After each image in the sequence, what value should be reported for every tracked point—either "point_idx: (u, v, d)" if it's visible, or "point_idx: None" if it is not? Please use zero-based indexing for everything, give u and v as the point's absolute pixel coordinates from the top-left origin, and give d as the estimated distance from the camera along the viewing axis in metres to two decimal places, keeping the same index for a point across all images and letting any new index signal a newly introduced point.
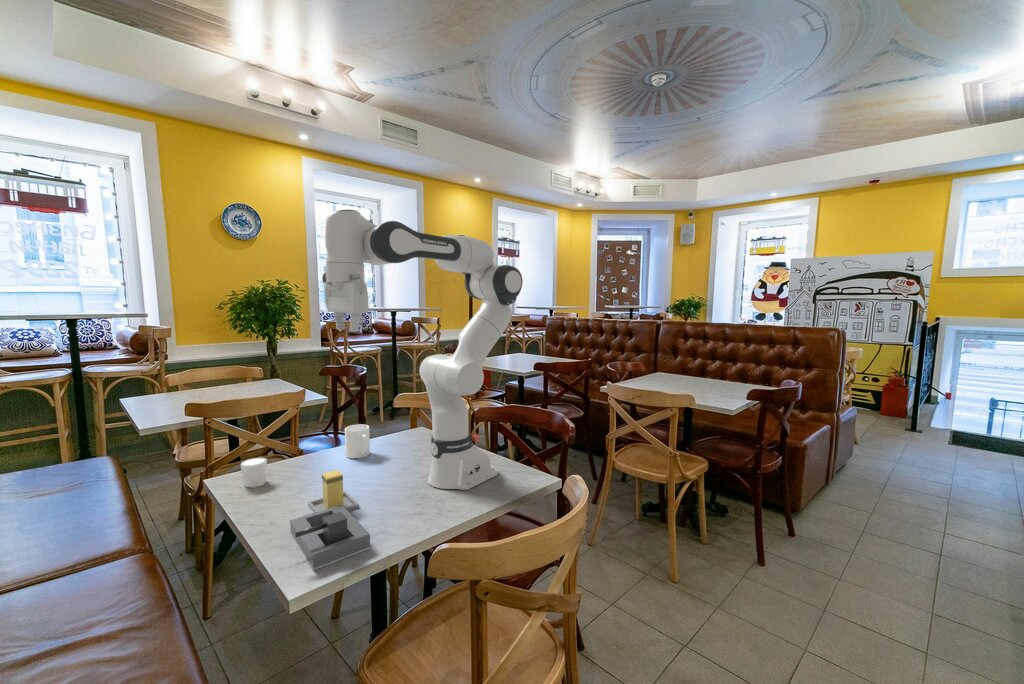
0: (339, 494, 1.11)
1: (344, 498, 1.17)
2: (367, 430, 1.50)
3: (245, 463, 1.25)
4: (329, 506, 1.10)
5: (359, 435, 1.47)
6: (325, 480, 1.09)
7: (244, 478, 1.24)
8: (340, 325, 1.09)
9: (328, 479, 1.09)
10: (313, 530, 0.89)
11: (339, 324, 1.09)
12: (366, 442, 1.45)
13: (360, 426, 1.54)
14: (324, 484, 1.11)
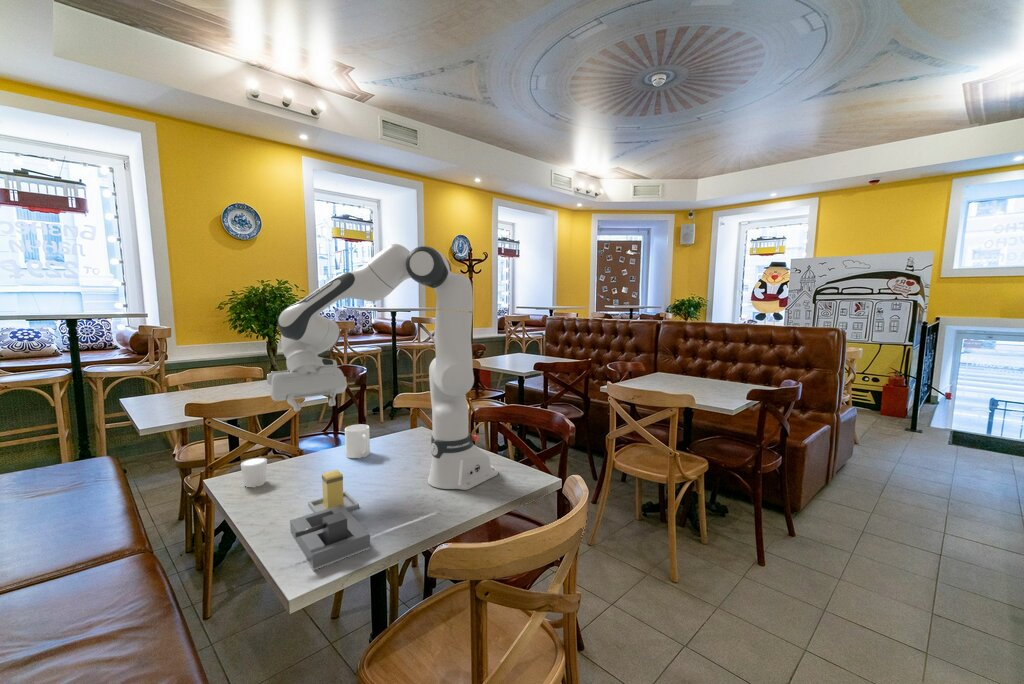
0: (339, 494, 1.11)
1: (344, 498, 1.17)
2: (367, 430, 1.50)
3: (245, 463, 1.25)
4: (329, 506, 1.10)
5: (359, 435, 1.47)
6: (325, 480, 1.09)
7: (244, 478, 1.24)
8: (329, 402, 1.22)
9: (328, 479, 1.09)
10: (313, 530, 0.89)
11: (328, 402, 1.23)
12: (366, 442, 1.45)
13: (360, 426, 1.54)
14: (324, 484, 1.11)
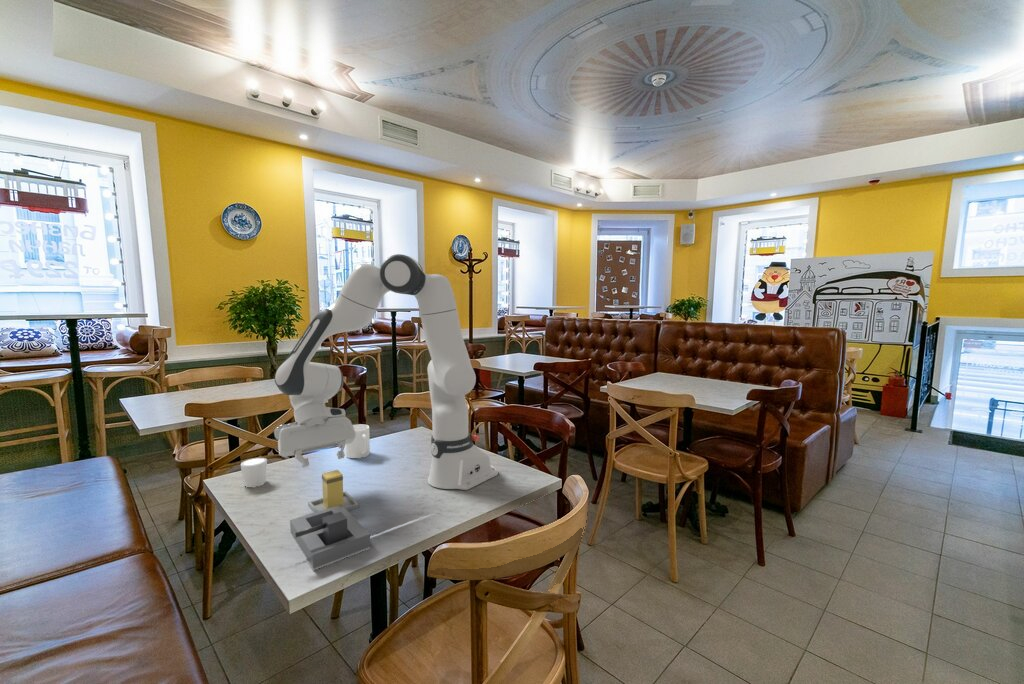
0: (339, 494, 1.11)
1: (344, 498, 1.17)
2: (367, 430, 1.50)
3: (245, 463, 1.25)
4: (329, 506, 1.10)
5: (359, 435, 1.47)
6: (325, 480, 1.09)
7: (244, 478, 1.24)
8: (337, 455, 1.20)
9: (328, 479, 1.09)
10: (313, 530, 0.89)
11: (337, 454, 1.20)
12: (366, 442, 1.45)
13: (360, 426, 1.54)
14: (324, 484, 1.11)
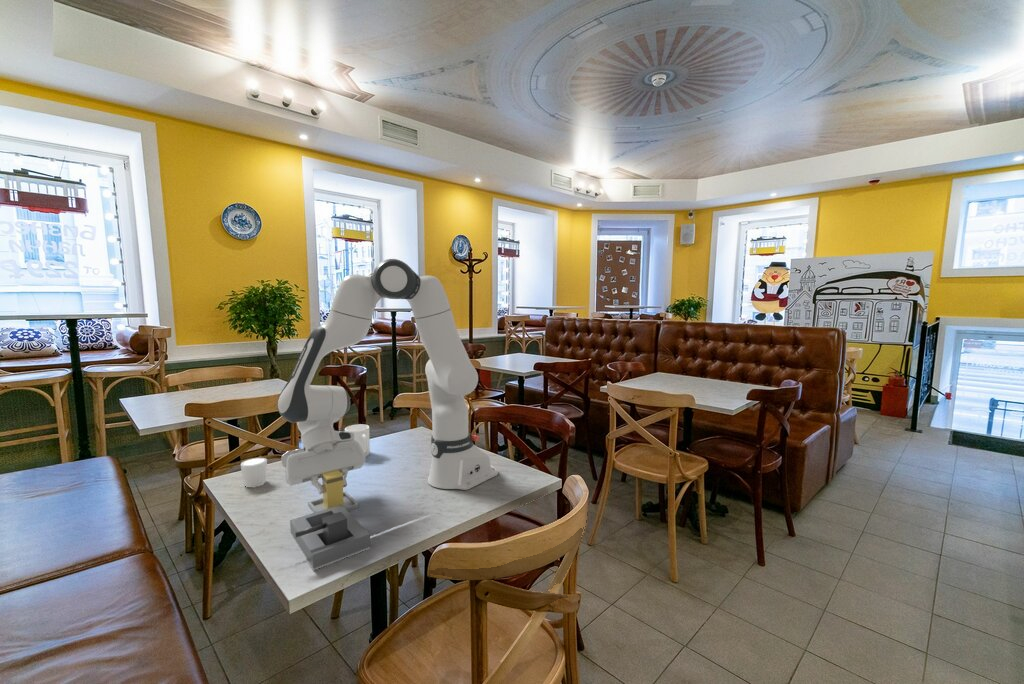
0: (339, 494, 1.11)
1: (344, 498, 1.17)
2: (367, 430, 1.50)
3: (245, 463, 1.25)
4: (329, 506, 1.10)
5: (359, 435, 1.47)
6: (325, 480, 1.09)
7: (244, 478, 1.24)
8: None
9: (328, 479, 1.09)
10: (313, 530, 0.89)
11: None
12: (366, 442, 1.45)
13: (360, 426, 1.54)
14: None
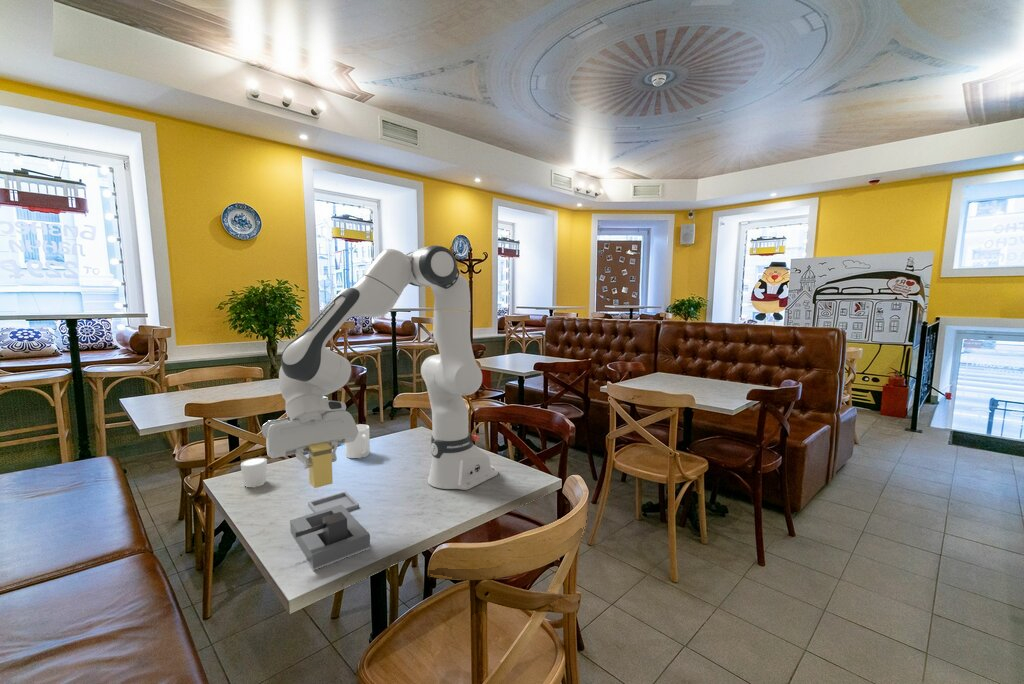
0: (327, 468, 0.98)
1: (344, 498, 1.17)
2: (367, 430, 1.50)
3: (245, 463, 1.25)
4: (316, 482, 0.96)
5: (359, 435, 1.47)
6: (311, 452, 0.96)
7: (244, 478, 1.24)
8: None
9: (315, 451, 0.96)
10: (313, 530, 0.89)
11: None
12: (366, 442, 1.45)
13: (360, 426, 1.54)
14: (310, 457, 0.97)
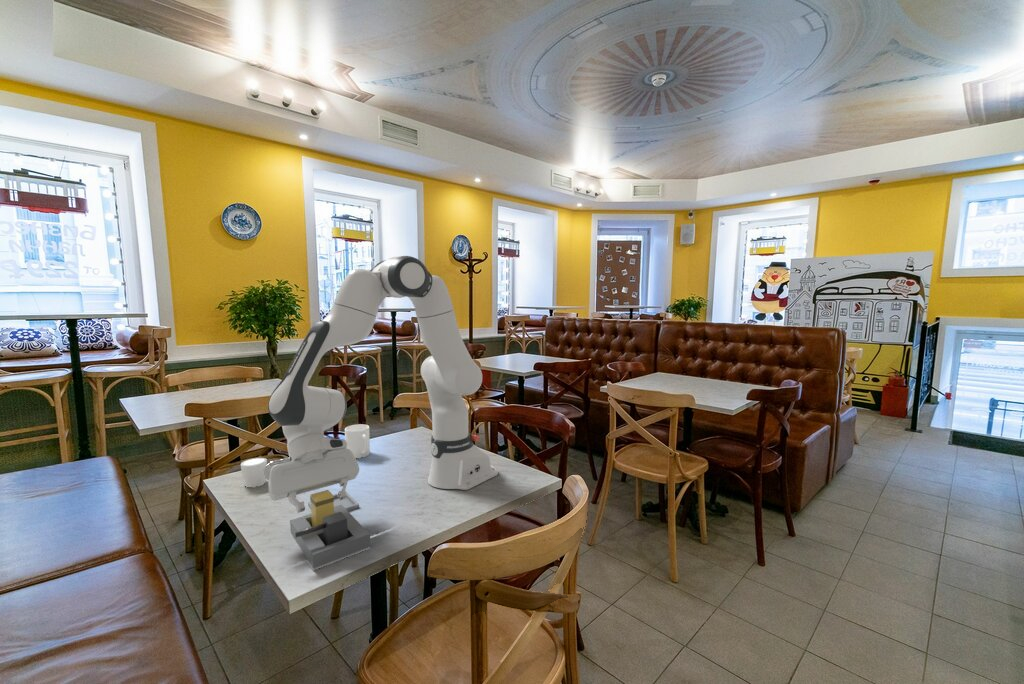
0: None
1: None
2: (367, 430, 1.50)
3: (245, 463, 1.25)
4: None
5: (359, 435, 1.47)
6: (314, 502, 0.97)
7: (244, 478, 1.24)
8: (338, 495, 1.02)
9: (317, 501, 0.97)
10: (313, 530, 0.89)
11: (338, 494, 1.03)
12: (366, 442, 1.45)
13: (360, 426, 1.54)
14: (313, 507, 0.98)
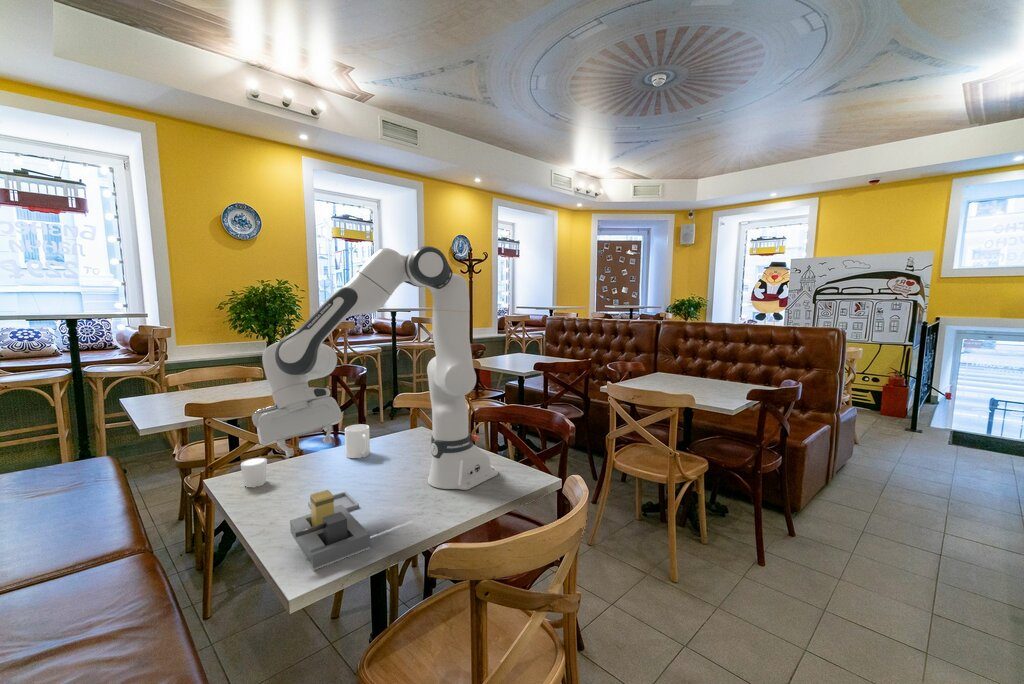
0: None
1: (344, 498, 1.17)
2: (367, 430, 1.50)
3: (245, 463, 1.25)
4: None
5: (359, 435, 1.47)
6: (314, 502, 0.97)
7: (244, 478, 1.24)
8: (324, 440, 1.12)
9: (317, 501, 0.97)
10: (313, 530, 0.89)
11: (323, 439, 1.12)
12: (366, 442, 1.45)
13: (360, 426, 1.54)
14: (313, 507, 0.98)
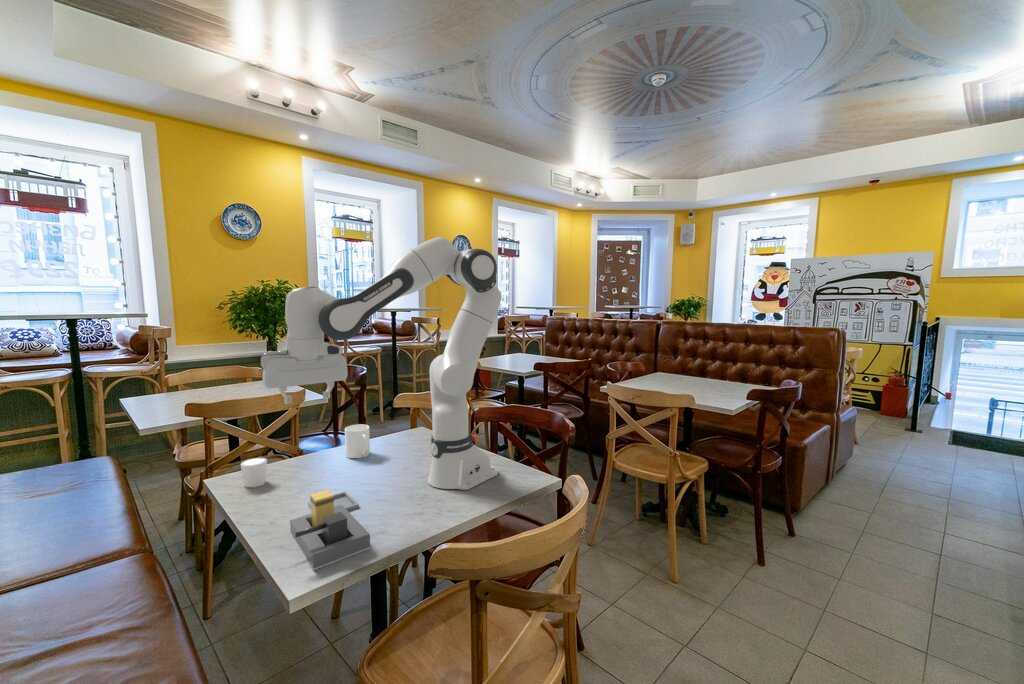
0: None
1: (344, 498, 1.17)
2: (367, 430, 1.50)
3: (245, 463, 1.25)
4: None
5: (359, 435, 1.47)
6: (314, 502, 0.97)
7: (244, 478, 1.24)
8: (323, 394, 1.13)
9: (317, 501, 0.97)
10: (313, 530, 0.89)
11: None
12: (366, 442, 1.45)
13: (360, 426, 1.54)
14: (313, 507, 0.98)
